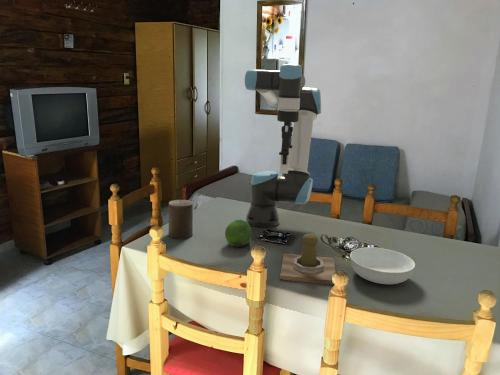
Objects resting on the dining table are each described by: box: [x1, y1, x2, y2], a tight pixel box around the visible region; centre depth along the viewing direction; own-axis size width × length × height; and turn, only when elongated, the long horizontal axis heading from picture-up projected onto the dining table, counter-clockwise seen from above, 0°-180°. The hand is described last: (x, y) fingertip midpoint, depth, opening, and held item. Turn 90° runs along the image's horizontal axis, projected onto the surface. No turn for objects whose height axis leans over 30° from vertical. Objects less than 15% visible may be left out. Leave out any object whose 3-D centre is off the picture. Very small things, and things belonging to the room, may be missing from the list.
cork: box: [300, 233, 319, 267], centre depth 143 cm, size 6×6×11 cm
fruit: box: [224, 219, 253, 248], centre depth 164 cm, size 15×10×10 cm, turn 161°
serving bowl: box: [349, 246, 416, 285], centre depth 140 cm, size 21×21×7 cm
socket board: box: [279, 252, 336, 286], centre depth 144 cm, size 18×18×3 cm
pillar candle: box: [168, 199, 194, 240], centre depth 170 cm, size 10×10×15 cm
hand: (284, 169), depth 153 cm, fingers open, 13 cm apart
